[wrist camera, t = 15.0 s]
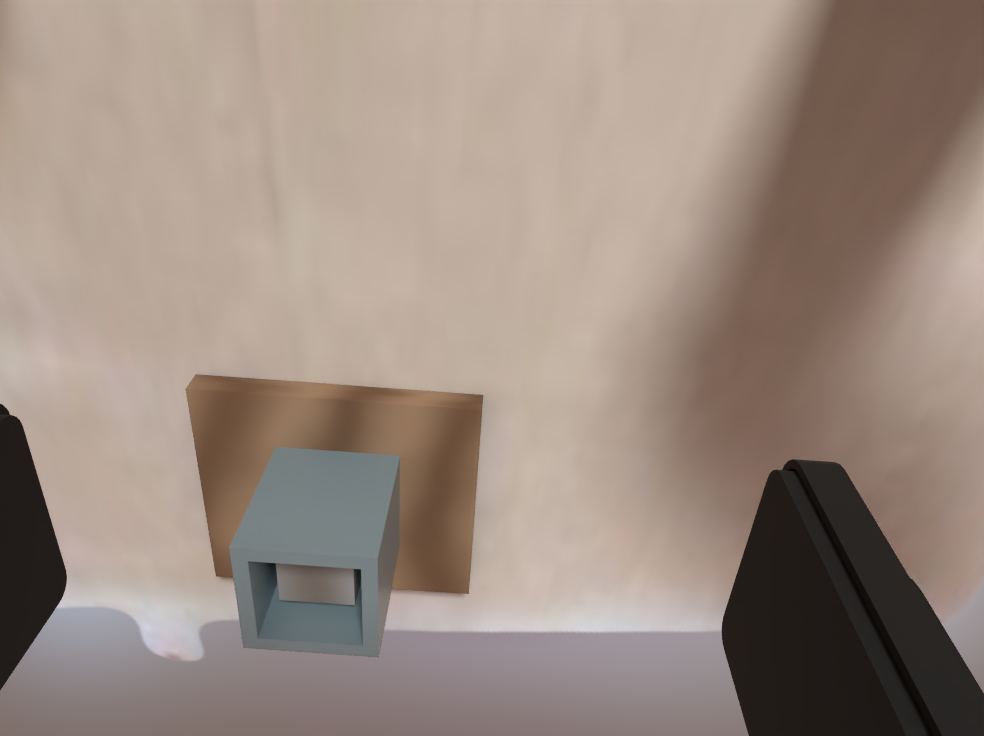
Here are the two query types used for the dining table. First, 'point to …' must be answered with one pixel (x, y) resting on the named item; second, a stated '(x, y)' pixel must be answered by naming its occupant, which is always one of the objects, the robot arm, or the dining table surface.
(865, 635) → the robot arm
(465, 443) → the base
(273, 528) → the duct sleeve
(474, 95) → the dining table surface
